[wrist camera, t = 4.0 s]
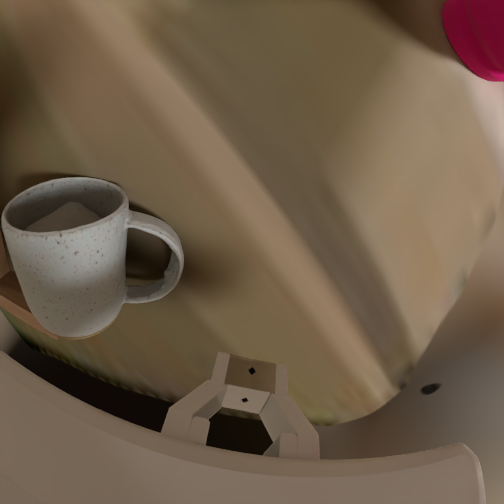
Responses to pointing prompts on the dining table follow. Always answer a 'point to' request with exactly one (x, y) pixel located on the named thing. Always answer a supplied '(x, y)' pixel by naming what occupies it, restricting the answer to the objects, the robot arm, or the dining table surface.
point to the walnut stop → (15, 294)
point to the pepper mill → (477, 35)
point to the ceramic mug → (80, 253)
